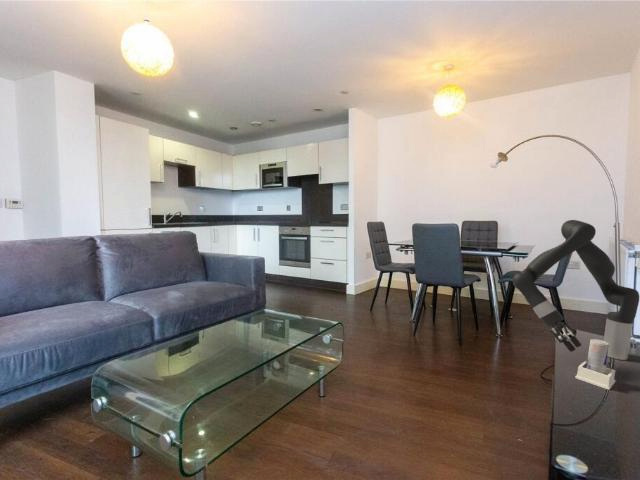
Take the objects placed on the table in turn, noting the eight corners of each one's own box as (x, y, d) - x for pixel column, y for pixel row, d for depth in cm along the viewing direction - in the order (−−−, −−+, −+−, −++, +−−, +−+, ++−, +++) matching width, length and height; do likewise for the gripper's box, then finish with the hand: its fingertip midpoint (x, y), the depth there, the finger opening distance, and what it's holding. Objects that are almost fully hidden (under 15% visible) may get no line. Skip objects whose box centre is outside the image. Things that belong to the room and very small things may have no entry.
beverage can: (606, 382, 129) (612, 345, 128) (590, 380, 130) (595, 343, 129) (598, 375, 135) (603, 339, 133) (582, 373, 136) (587, 337, 134)
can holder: (582, 371, 140) (584, 360, 139) (615, 382, 132) (616, 370, 131) (575, 378, 133) (576, 366, 133) (609, 389, 125) (610, 377, 125)
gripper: (550, 311, 138) (580, 348, 130) (561, 306, 147) (590, 341, 139) (534, 320, 142) (562, 356, 135) (545, 315, 151) (572, 348, 144)
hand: (576, 348), depth 137 cm, fingers open, 8 cm apart
